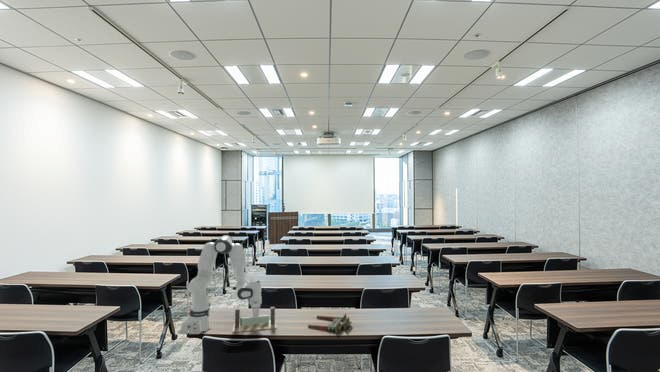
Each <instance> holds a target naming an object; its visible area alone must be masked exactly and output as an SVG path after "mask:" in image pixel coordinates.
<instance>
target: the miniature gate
mask: <svg viewBox="0 0 660 372" xmlns="http://www.w3.org/2000/svg"><path fill="white" fill-rule="evenodd" d="M317 318H320V319H319V320H324V319H326V321H332V322H331V324H329V325H321V324H320V325H318V324H317V325H316V324H308V325H307V327H308V328H309V329H314V328H315V330H323V331H333V332H335V335H338V333H339V332H340V331H341V330H342V329H343V332H346V330H347V329H348V328H350V325H351V324H353V323H352V321H350V317H349V316H347V313H345V314H344V315H343V316H328V315H327V316H326V315H316V319H317Z"/></svg>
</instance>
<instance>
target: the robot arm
mask: <svg viewBox="0 0 660 372" xmlns="http://www.w3.org/2000/svg"><path fill="white" fill-rule="evenodd" d="M233 242H234V241H233V238H232V236H231V235H228V234H224V235H222V236H220V237H219V238H217V240H216V241H215V242H209V241H208V242H206V243H205V244H204V245H203V247H202V250H201V253H200V256H199V259H198V262H197V270H198V271H197V275H196V276H195V277H193V278H192V279H191V280H190V282H189V283H188V285H187V290H188V292H189V293H190V294H191V299H192V307H191V308H190V309H189V313H188V314H189V315H187V316H186V317H185V318H184V319H183V320H182V322H181V324H180V326H179V327H178V328H177V330H176V334H177V335H200V334H201V332H202V333H204V332H206V331H208V329H209V330H210V329H211V327H212V326H211V322H210V305H209V304H210V299H209V298H210V297H209V296H208V293H207V288H208V287H209V286H210V285H212V282H213V279H214V278H213V271H214V266H215V263H216V259H217V255H218V253H219V254H225V255H229V261H230V265H231V269H233V270H234V272H235V277H236V286H235V292H236V295H237V298H238V299H240V300H242V301H243V300H244V301H245V300H248V299H249V306H250V307H251V310H252V317H253V318H254V319H256V318H258V317H259V316H260V308H261V305H262V304H263V303H262V302H263V300H262V283H261V281H260V280H258V279H250V281H248V282H247V280H246V275H245V269H246V265H247V261H246V253H245V249H244V247H243V245H242V244H241V243H237V242H236V243H233ZM188 331H189V334H187V333H188ZM203 331H204V332H203Z"/></svg>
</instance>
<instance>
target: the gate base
mask: <svg viewBox="0 0 660 372" xmlns="http://www.w3.org/2000/svg"><path fill="white" fill-rule="evenodd" d="M240 310H241V309H235V311H234V323H233V327H232V334H233V333H243V332H253V331H254V332H255V331H267V330H274V329H275V330H276V329H277V319H275V318H276V312H275V311H276V307H275V306H270V315H269V323H265V324H256V325H247V326H240V318H241V317H240V316H241V315H240V313H241V312H240Z"/></svg>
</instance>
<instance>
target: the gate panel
mask: <svg viewBox="0 0 660 372" xmlns="http://www.w3.org/2000/svg"><path fill="white" fill-rule="evenodd" d="M269 320H270V314H265V315H259V317H258V318H256V319H254V318H253V316H247V317H240V326H247V325H256V324H265V323H269Z"/></svg>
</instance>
